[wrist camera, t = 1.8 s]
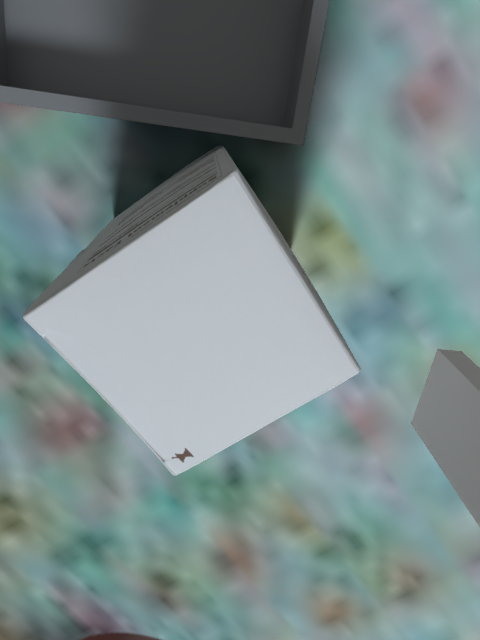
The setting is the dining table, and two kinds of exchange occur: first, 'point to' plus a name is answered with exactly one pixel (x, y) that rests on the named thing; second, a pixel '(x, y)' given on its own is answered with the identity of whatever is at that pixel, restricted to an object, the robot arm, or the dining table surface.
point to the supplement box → (194, 316)
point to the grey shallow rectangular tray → (167, 61)
